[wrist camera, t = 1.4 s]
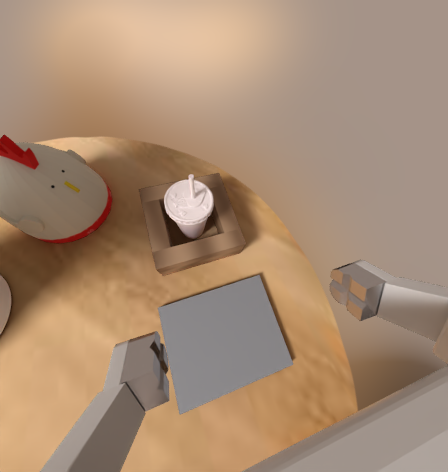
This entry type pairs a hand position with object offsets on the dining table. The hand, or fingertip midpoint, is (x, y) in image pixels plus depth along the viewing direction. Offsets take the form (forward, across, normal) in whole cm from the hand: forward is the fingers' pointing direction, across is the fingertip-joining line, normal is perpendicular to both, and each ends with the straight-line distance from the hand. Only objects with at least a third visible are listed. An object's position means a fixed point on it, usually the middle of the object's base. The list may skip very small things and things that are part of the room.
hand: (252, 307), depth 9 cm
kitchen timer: (+33, +20, -1) cm, 38 cm away
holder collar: (+26, +1, +6) cm, 27 cm away
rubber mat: (+14, 0, +18) cm, 23 cm away
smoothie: (+26, +1, +6) cm, 27 cm away
